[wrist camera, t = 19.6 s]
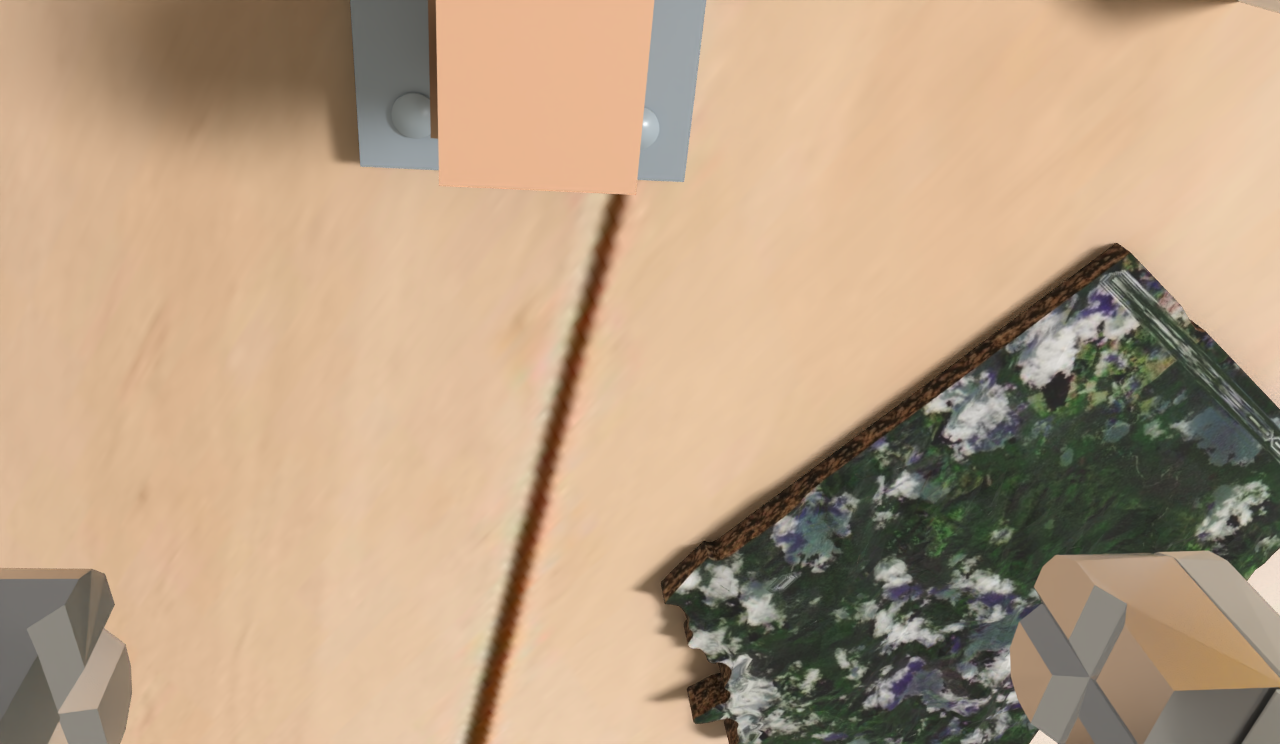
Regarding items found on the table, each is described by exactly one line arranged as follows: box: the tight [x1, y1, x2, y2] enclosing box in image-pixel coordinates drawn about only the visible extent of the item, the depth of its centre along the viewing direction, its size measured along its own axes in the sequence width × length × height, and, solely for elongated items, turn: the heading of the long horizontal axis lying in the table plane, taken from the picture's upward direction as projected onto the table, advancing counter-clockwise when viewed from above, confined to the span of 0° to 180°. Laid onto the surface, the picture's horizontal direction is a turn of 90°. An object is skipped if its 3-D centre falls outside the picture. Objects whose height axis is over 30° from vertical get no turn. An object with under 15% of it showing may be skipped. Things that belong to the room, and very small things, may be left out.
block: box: [436, 0, 654, 195], centre depth 25 cm, size 5×5×5 cm
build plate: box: [350, 0, 706, 182], centre depth 32 cm, size 12×12×1 cm
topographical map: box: [661, 243, 1280, 744], centre depth 49 cm, size 26×33×3 cm
